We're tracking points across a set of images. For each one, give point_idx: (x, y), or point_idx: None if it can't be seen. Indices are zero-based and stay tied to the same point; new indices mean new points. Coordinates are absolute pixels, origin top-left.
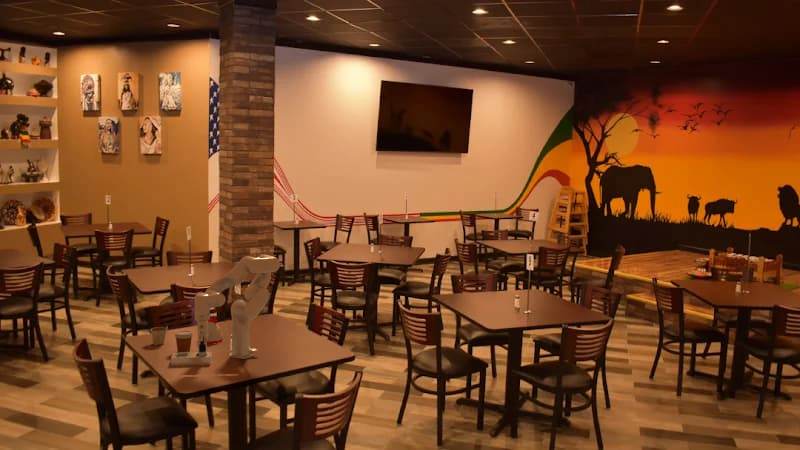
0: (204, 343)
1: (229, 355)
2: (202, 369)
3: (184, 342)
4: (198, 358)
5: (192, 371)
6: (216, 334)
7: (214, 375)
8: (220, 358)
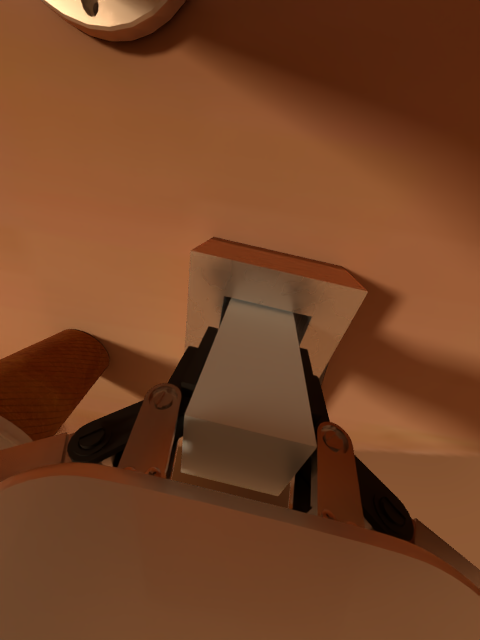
0: (350, 452)
1: (131, 24)
2: (373, 322)
3: (56, 411)
4: (320, 367)
5: (376, 369)
6: None
7: None
8: (167, 155)
